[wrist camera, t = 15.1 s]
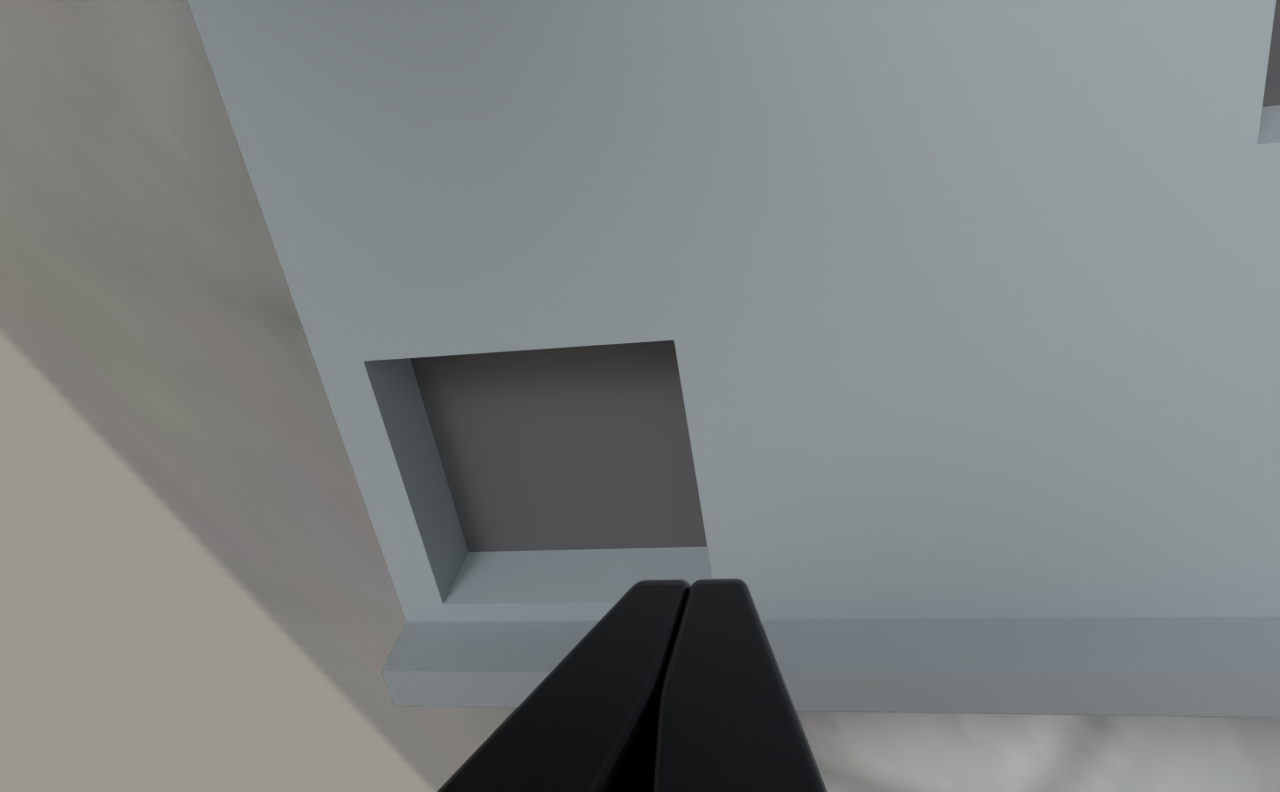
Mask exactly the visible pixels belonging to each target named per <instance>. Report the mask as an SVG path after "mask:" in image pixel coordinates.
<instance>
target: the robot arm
mask: <svg viewBox="0 0 1280 792" xmlns="http://www.w3.org/2000/svg"><path fill="white" fill-rule="evenodd" d="M437 792H827V790H826V788H825V785H824V783H823V780H822V777H821V775H820V772H819V770H818V767H817V765H816V762H815V759H814V757H813V754H812V752H811V749H810V746H809V744H808V741H807V739H806V736H805V733H804V731H803V728H802V726H801V723H800V720H799V718H798V715H797V713H796V710H795V707H794V705H793V702H792V700H791V697H790V694H789V692H788V689H787V687H786V684H785V682H784V679H783V676H782V674H781V671H780V669H779V666H778V663H777V661H776V658H775V656H774V653H773V650H772V648H771V645H770V643H769V640H768V637H767V635H766V632H765V630H764V627H763V624H762V622H761V619H760V617H759V614H758V612H757V609H756V606H755V604H754V601H753V599H752V596H751V593H750V591H749V588H748V586H747V584H746V583H745V582H744V581H743V580H741V579H699V580H697V581H695V582H694V583H693V584H692V585H690V584H689V583H688V582H687V581H685V580H682V579H671V580H643V581H639V582H638V583H636V584H634V585H633V586H632V587H631V588H630V589H629V590H628V591H627V592H626V593H625V595H624V596H623V597H622V598H621V599H620V600H619V601H618V602H617V603H616V604H615V605H614V606H613V607H612V608H611V609H610V610H609V611H608V612H607V613H606V615H605V616H604V617H603V618H602V619H601V620H600V621H599V622H598V623H597V624H596V625H595V626H594V627H593V628H592V629H591V630H590V631H589V632H588V633H587V634H586V636H585V637H584V638H583V639H582V640H581V641H580V642H579V643H578V644H577V645H576V646H575V647H574V648H573V649H572V650H571V651H570V652H569V653H568V654H567V656H566V657H565V658H564V659H563V660H562V661H561V662H560V663H559V664H558V665H557V666H556V667H555V668H554V669H553V670H552V671H551V672H550V673H549V674H548V676H547V677H546V678H545V679H544V680H543V681H542V682H541V683H540V684H539V685H538V686H537V687H536V688H535V689H534V690H533V691H532V692H531V693H530V694H529V696H528V697H527V698H526V699H525V700H524V701H523V702H522V703H521V704H520V705H519V706H518V707H517V708H516V709H515V710H514V711H513V712H512V713H511V714H510V716H509V717H508V718H507V719H506V720H505V721H504V722H503V723H502V724H501V725H500V726H499V727H498V728H497V729H496V730H495V731H494V732H493V733H492V734H491V735H490V737H489V738H488V739H487V740H486V741H485V742H484V743H483V744H482V745H481V746H480V747H479V748H478V749H477V750H476V751H475V752H474V753H473V754H472V755H471V757H470V758H469V759H468V760H467V761H466V762H465V763H464V764H463V765H462V766H461V767H460V768H459V769H458V770H457V771H456V772H455V773H454V774H453V775H452V777H451V778H450V779H449V780H448V781H447V782H446V783H445V784H444V785H443V786H442V787H441V788H440V789H439V790H438V791H437Z"/></svg>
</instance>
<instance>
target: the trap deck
mask: <svg viewBox="0 0 1280 792" xmlns="http://www.w3.org/2000/svg"><path fill="white" fill-rule="evenodd" d="M187 1H188V4H189V6H190V9H191V12H192V15H193V18H194V21H195V23H196V26H197V29H198V32H199V35H200V38H201V40H202V43H203V46H204V49H205V52H206V55H207V57H208V60H209V63H210V66H211V69H212V72H213V74H214V77H215V80H216V83H217V86H218V89H219V91H220V94H221V97H222V100H223V103H224V106H225V108H226V111H227V114H228V117H229V120H230V123H231V125H232V128H233V131H234V134H235V137H236V140H237V142H238V145H239V148H240V151H241V154H242V157H243V159H244V162H245V165H246V168H247V171H248V174H249V176H250V179H251V182H252V185H253V188H254V191H255V193H256V196H257V199H258V202H259V205H260V208H261V211H262V213H263V216H264V219H265V222H266V225H267V228H268V230H269V233H270V236H271V239H272V242H273V245H274V247H275V250H276V253H277V256H278V259H279V262H280V264H281V267H282V270H283V273H284V276H285V279H286V281H287V284H288V287H289V290H290V293H291V296H292V298H293V301H294V304H295V307H296V310H297V313H298V315H299V318H300V321H301V324H302V327H303V330H304V332H305V335H306V338H307V341H308V344H309V347H310V349H311V352H312V355H313V358H314V361H315V364H316V366H317V369H318V372H319V375H320V378H321V381H322V383H323V386H324V389H325V392H326V395H327V398H328V400H329V403H330V406H331V409H332V412H333V415H334V417H335V420H336V423H337V426H338V429H339V432H340V434H341V437H342V440H343V443H344V446H345V449H346V451H347V454H348V457H349V460H350V463H351V466H352V468H353V471H354V474H355V477H356V480H357V483H358V485H359V488H360V491H361V494H362V497H363V500H364V502H365V505H366V508H367V511H368V514H369V517H370V519H371V522H372V525H373V528H374V531H375V534H376V536H377V539H378V542H379V545H380V548H381V551H382V553H383V556H384V559H385V562H386V565H387V568H388V570H389V573H390V576H391V579H392V582H393V585H394V587H395V590H396V593H397V596H398V599H399V602H400V604H401V607H402V610H403V613H404V616H405V619H406V621H407V622H406V624H405V626H404V628H403V630H402V632H401V634H400V636H399V638H398V639H397V641H396V643H395V645H394V647H393V649H392V651H391V653H390V655H389V657H388V659H387V660H386V662H385V664H384V666H383V668H382V670H381V673H382V675H383V678H384V681H385V683H386V686H387V689H388V691H389V694H390V697H391V699H392V702H393V704H394V706H462V707H518V706H519V705H520V704H521V703H522V702H523V701H524V700H525V699H526V698H527V697H528V696H529V694H530V693H531V692H532V691H533V690H534V689H535V688H536V687H537V686H538V685H539V684H540V683H541V682H542V681H543V680H544V679H545V678H546V677H547V676H548V674H549V673H550V672H551V671H552V670H553V669H554V668H555V667H556V666H557V665H558V664H559V663H560V662H561V661H562V660H563V659H564V658H565V657H566V656H567V654H568V653H569V652H570V651H571V650H572V649H573V648H574V647H575V646H576V645H577V644H578V643H579V642H580V641H581V640H582V639H583V638H584V637H585V636H586V634H587V633H588V632H589V631H590V630H591V629H592V628H593V627H594V626H595V625H596V624H597V623H598V622H599V621H600V620H601V619H602V618H603V617H604V616H605V615H606V613H607V612H608V611H609V610H610V609H611V608H612V607H613V606H614V605H615V604H616V603H617V602H618V601H619V600H620V599H621V598H622V597H623V596H624V595H625V593H626V592H627V591H628V590H629V589H630V588H631V587H632V586H633V585H634V584H636V583H638V582H639V581H643V580H671V579H682V580H685V581H687V582H688V583H689V584H690V585H692V584H693V583H694V582H695V581H697V580H699V579H741V580H743V581H744V582H745V583H746V584H747V586H748V588H749V591H750V593H751V596H752V599H753V601H754V604H755V606H756V609H757V612H758V614H759V617H760V619H761V622H762V624H763V627H764V630H765V632H766V635H767V637H768V640H769V643H770V645H771V648H772V650H773V653H774V656H775V658H776V661H777V663H778V666H779V669H780V671H781V674H782V676H783V679H784V682H785V684H786V687H787V689H788V692H789V694H790V697H791V700H792V702H793V705H794V707H795V710H796V711H833V712H907V713H981V714H1055V715H1129V716H1204V717H1278V718H1280V0H187Z"/></svg>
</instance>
